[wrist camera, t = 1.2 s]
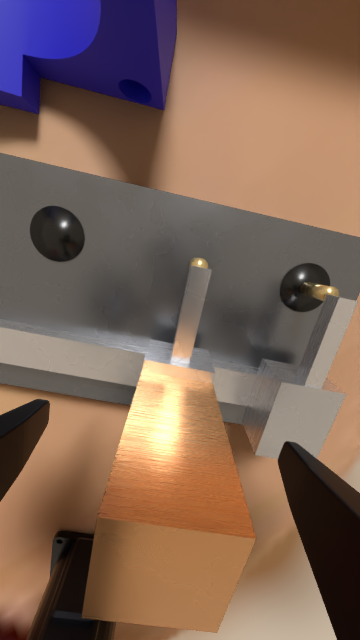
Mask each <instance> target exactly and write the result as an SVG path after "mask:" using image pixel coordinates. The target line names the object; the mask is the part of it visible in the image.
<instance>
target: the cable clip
mask: <svg viewBox="0 0 360 640" xmlns="http://www.w3.org/2000/svg"><path fill="white" fill-rule="evenodd" d="M176 35H177V0H0V105H4V106H8V107H12V108H16V109H20V110H24V111H28V112H32V113H36V114H39V103H40V81H41V78H44V79H48V80H52V81H56V82H60V83H63V84H67V85H71V86H75V87H78V88H82V89H86V90H90V91H93V92H97V93H101V94H105V95H108V96H112V97H116V98H120V99H123V100H127V101H131V102H135V103H139V104H142V105H146V106H150V107H154V108H157V109H161V110H164V108H165V102H166V96H167V90H168V84H169V78H170V71H171V65H172V59H173V53H174V47H175V41H176Z"/></svg>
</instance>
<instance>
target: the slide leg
mask: <svg viewBox="0 0 360 640" xmlns="http://www.w3.org/2000/svg"><path fill="white" fill-rule="evenodd" d="M211 272H212V270H211V269H208V263H207V261H206V260H205V259H203V258H193V259H191V260H190V262H189V273H188V277H187V282H186V287H185V291H184V296H183V301H182V305H181V310H180V315H179V319H178V324H177V329H176V333H175V338H174V342H173V343H168V342H163V341H158V340H152V339H150V342H149V345H148V348H147V351H146V354H145V358H144V361H143V367H142V372H141V375H140V378H139V382H138V385H137V388H136V391H135V395H134V398H133V401H132V404H131V408H130V411H129V414H128V418H127V421H126V424H125V427H124V431H123V434H122V437H121V440H120V444H119V447H118V450H117V454H116V457H115V460H114V463H113V467H112V470H111V473H110V477H109V480H108V483H107V486H106V490H105V493H104V496H103V499H102V503H101V506H100V509H99V513H98V516H97V521H96V527H95V534H94V540H93V547H92V553H91V560H90V566H89V573H88V579H87V585H86V592H85V598H84V605H83V611H82V618H85V619H94V620H103V621H112V622H122V623H131V624H140V625H150V626H159V627H168V628H177V629H187V630H196V631H205V632H214V633H217V632H218V629H219V627H220V624H221V622H222V619H223V617H224V615H225V612H226V610H227V607H228V605H229V603H230V600H231V598H232V596H233V593H234V591H235V588H236V586H237V584H238V581H239V579H240V576H241V574H242V572H243V569H244V567H245V564H246V562H247V560H248V557H249V555H250V552H251V550H252V548H253V545H254V543H255V540H256V537H255V533H254V530H253V526H252V522H251V519H250V515H249V512H248V508H247V504H246V501H245V497H244V494H243V490H242V486H241V483H240V479H239V476H238V472H237V469H236V465H235V461H234V458H233V454H232V451H231V447H230V443H229V440H228V436H227V433H226V429H225V426H224V422H223V418H222V415H221V411H220V408H219V404H218V400H217V397H216V393H215V390H214V386H213V381H214V378H215V374H216V372H215V369H214V366H213V363H212V360H211V357H210V354H209V351H208V350H205V349H199V348H194V347H193V346H194V342H195V338H196V334H197V330H198V326H199V321H200V317H201V313H202V309H203V305H204V301H205V297H206V292H207V288H208V284H209V280H210V276H211Z"/></svg>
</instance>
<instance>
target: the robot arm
mask: <svg viewBox="0 0 360 640" xmlns="http://www.w3.org/2000/svg"><path fill="white" fill-rule="evenodd" d="M49 409H50V403H49V401H48V400H42V399H36V400H34V401H31V402H29V403H27V404H25V405H22V406H20V407H18V408H16V409H13V410H11V411H9V412H6V413H4V414H2V415H0V501H1V500H2V499H3V497H4V496H5V494H6V493H7V491H8V490H9V488H10V487H11V485H12V484H13V483H14V481H15V480H16V478H17V477H18V475H19V474H20V472H21V471H22V469H23V468H24V466H25V464H26V462H27V461H28V459H29V457H30V455H31V453H32V452H33V450H34V448H35V446H36V444H37V443H38V441H39V439H40V437H41V436H42V434H43V432H44V430H45V428H46V426H47V424H48V421H49ZM278 465H279V469H280V473H281V476H282V480H283V484H284V488H285V492H286V495H287V499H288V503H289V506H290V509H291V512H292V515H293V518H294V521H295V524H296V526H297V529H298V532H299V535H300V537H301V540H302V543H303V546H304V549H305V552H306V554H307V557H308V560H309V563H310V565H311V568H312V571H313V574H314V576H315V579H316V582H317V585H318V588H319V590H320V593H321V596H322V599H323V602H324V604H325V607H326V610H327V613H328V616H329V618H330V621H331V624H332V627H333V629H334V632H335V635H336V638H337V640H360V493H359V492H357V491H356V490H355V489H354V488H352V487H351V486H350V485H349V484H348V483H346V482H345V481H344V480H343V479H341V478H340V477H339V476H338V475H336V474H335V473H334V472H333V471H331V470H330V469H329V468H328V467H326V466H325V465H324V464H323V463H321V462H320V461H319V460H318V459H316V458H315V457H314V456H313V455H311V454H310V453H309V452H308V451H306V450H305V449H304V448H303V447H302V446H300V445H299V444H298V443H296V442H291V441H286V442H284V444H283V447H282V449H281V452H280V454H279V457H278ZM93 540H94V536H93V535H85V534H78V533H70V532H63V531H60V532H57V533H56V535H55V538H54V540H53V548H52V559H51V570H50V579H49V582H48V584H47V587H46V589H45V592H44V595H43V597H42V600H41V602H40V605H39V607H38V610H37V612H36V615H35V617H34V620H33V623H32V625H31V628H30V630H29V633H28V635H27V638H26V640H113V638H114V632H115V626H116V622H112V621H103V620H94V619H85V618H82V611H83V605H84V598H85V592H86V585H87V579H88V573H89V566H90V560H91V553H92V547H93Z"/></svg>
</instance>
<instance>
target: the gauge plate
mask: <svg viewBox="0 0 360 640" xmlns="http://www.w3.org/2000/svg"><path fill="white" fill-rule="evenodd" d="M193 258H203V259H205V260H206V261H207V263H208V269H211V270H212V272H211V276H210V280H209V284H208V288H207V292H206V297H205V301H204V305H203V309H202V313H201V317H200V321H199V326H198V330H197V334H196V338H195V342H194V346H193V347H194V348H199V349H205V350H208V351H209V354H210V357H211V360H212V363H213V366H214V369H215V372H216V374H215V378H214V381H213V386H214V390H215V393H216V397H217V400H218V404H219V408H220V411H221V415H222V418H223V421H224V422H230V423H236V424H242V425H243V426H244V428H245V431H246V433H247V436H248V439H249V441H250V444H251V446H252V449H253V451H254V454H255V455H257V456H263V457H269V458H275V459H278V457H279V454H280V452H281V449H282V447H283V444H284V442H286V441H291V442H296V443H298V444H299V445H300V446H302V447H303V448H304V449H305V450H306V451H308V452H309V453H310V454H311V455H313V456H314V457H315V458H316V459H317V457H318V455H319V453H320V451H321V448H322V446H323V444H324V442H325V440H326V437H327V435H328V433H329V431H330V429H331V426H332V424H333V422H334V420H335V418H336V415H337V413H338V411H339V409H340V407H341V405H342V402H343V400H344V398H345V396H346V394H345V393H344V392H343V391H342V390H341V389H339V388H338V387H337V386H336V385H334V384H333V383H332V382H331V381H330V380H328V379H327V378H326V377H327V374H328V372H329V370H330V367H331V365H332V362H333V360H334V358H335V355H336V353H337V351H338V348H339V346H340V343H341V341H342V339H343V336H344V334H345V331H346V329H347V327H348V324H349V322H350V320H351V317H352V315H353V312H354V310H355V308H356V305H357V303H358V301H356V300H357V298H358V295H359V293H360V237H356V236H351V235H347V234H343V233H339V232H334V231H330V230H326V229H322V228H317V227H313V226H309V225H305V224H300V223H296V222H292V221H288V220H283V219H279V218H275V217H271V216H266V215H262V214H258V213H254V212H250V211H245V210H241V209H237V208H233V207H228V206H224V205H220V204H216V203H211V202H207V201H203V200H199V199H194V198H190V197H186V196H182V195H177V194H173V193H169V192H165V191H160V190H156V189H152V188H148V187H143V186H139V185H135V184H131V183H126V182H122V181H118V180H114V179H109V178H105V177H101V176H97V175H92V174H88V173H84V172H80V171H75V170H71V169H67V168H63V167H58V166H54V165H50V164H46V163H41V162H37V161H33V160H29V159H24V158H20V157H16V156H12V155H7V154H3V153H0V383H2V384H8V385H14V386H20V387H25V388H31V389H37V390H43V391H49V392H55V393H60V394H66V395H72V396H78V397H84V398H90V399H96V400H101V401H107V402H113V403H119V404H125V405H131V404H132V401H133V398H134V395H135V391H136V388H137V385H138V382H139V378H140V375H141V372H142V367H143V361H144V358H145V354H146V351H147V348H148V345H149V342H150V339H152V340H158V341H163V342H168V343H173V342H174V338H175V333H176V329H177V324H178V319H179V315H180V310H181V305H182V301H183V296H184V291H185V287H186V282H187V277H188V273H189V262H190V260H191V259H193Z"/></svg>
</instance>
